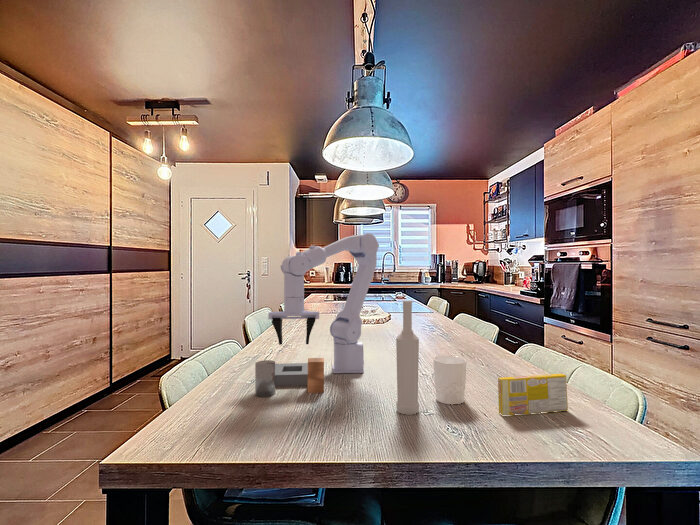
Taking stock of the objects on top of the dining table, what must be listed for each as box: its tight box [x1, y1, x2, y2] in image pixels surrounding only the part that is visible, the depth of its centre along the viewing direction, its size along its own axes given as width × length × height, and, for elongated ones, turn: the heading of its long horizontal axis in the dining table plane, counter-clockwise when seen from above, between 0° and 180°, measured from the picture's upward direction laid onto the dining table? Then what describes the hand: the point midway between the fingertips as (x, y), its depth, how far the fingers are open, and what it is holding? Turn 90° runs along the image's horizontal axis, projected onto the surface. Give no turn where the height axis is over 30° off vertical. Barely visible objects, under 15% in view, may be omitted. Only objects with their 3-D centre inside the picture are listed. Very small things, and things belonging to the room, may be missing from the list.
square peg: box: [307, 357, 325, 394], centre depth 98 cm, size 4×4×8 cm
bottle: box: [395, 299, 420, 416], centre depth 83 cm, size 5×5×25 cm
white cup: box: [433, 355, 468, 406], centre depth 90 cm, size 8×8×10 cm
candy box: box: [497, 373, 569, 415], centre depth 82 cm, size 16×2×8 cm, turn 100°
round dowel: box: [254, 359, 276, 398], centre depth 95 cm, size 5×5×8 cm
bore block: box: [275, 362, 308, 387], centre depth 107 cm, size 12×12×3 cm
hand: (294, 343), depth 106 cm, fingers open, 7 cm apart
